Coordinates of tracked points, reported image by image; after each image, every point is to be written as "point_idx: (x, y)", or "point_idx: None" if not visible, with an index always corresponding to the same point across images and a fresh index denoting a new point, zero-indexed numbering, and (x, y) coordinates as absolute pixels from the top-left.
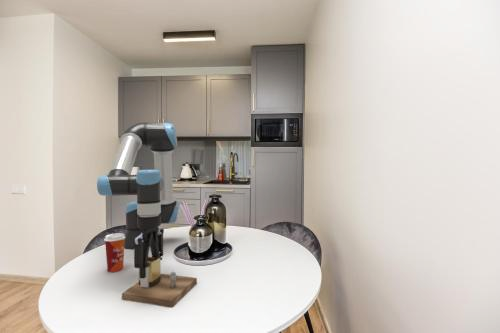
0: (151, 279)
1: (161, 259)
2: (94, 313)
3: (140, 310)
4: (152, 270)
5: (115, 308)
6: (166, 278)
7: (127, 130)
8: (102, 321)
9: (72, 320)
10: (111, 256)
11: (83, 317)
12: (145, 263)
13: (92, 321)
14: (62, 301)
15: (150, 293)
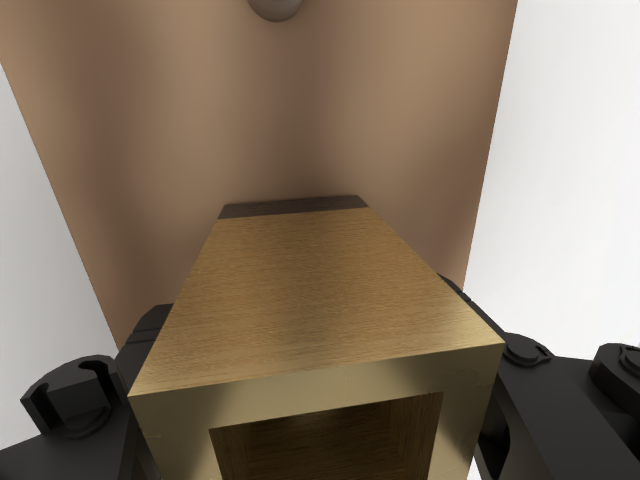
0: (378, 216)
1: (76, 367)
2: (558, 307)
3: (542, 104)
4: (394, 258)
5: (520, 258)
6: (152, 188)
7: None
8: (625, 225)
9: (600, 336)
10: None
11: (584, 319)
12: (571, 400)
13: (618, 264)
14: (475, 461)
15: (441, 135)
